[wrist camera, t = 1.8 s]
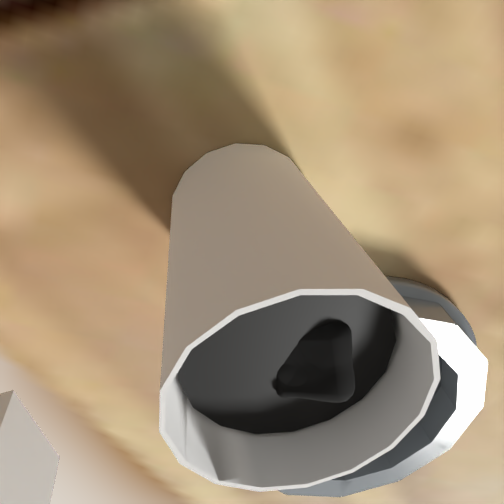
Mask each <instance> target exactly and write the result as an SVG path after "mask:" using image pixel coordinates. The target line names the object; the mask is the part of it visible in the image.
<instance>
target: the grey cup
mask: <svg viewBox="0 0 504 504" xmlns="http://www.w3.org/2000/svg"><path fill="white" fill-rule="evenodd" d="M440 379H441V378H440V367H439V355H438V344H437V340H436V338H435V337H434V336H433V335H432V334H431V332H430V331H429V330H428V329H427V327H426V326H425V325H424V324H423V322H422V321H421V320H420V319H419V317H418V316H417V315H416V314H415V312H414V311H413V310H412V309H411V308H410V306H409V305H408V304H407V303H406V301H405V300H404V299H403V298H402V296H401V295H400V294H399V293H398V291H397V290H396V289H395V288H394V287H393V285H392V284H391V283H390V282H389V280H388V279H387V278H386V277H385V275H384V274H383V273H382V272H381V271H380V269H379V268H378V267H377V266H376V264H375V263H374V262H373V261H372V259H371V258H370V257H369V256H368V254H367V253H366V252H365V251H364V250H363V248H362V247H361V246H360V245H359V243H358V242H357V241H356V240H355V238H354V237H353V236H352V235H351V233H350V232H349V231H348V230H347V229H346V227H345V226H344V225H343V224H342V222H341V221H340V220H339V219H338V217H337V216H336V215H335V214H334V213H333V211H332V210H331V209H330V208H329V206H328V205H327V204H326V203H325V201H324V200H323V199H322V198H321V196H320V195H319V194H318V193H317V192H316V190H315V189H314V188H313V187H312V185H311V184H310V183H309V182H308V180H307V179H306V178H305V177H304V175H303V174H302V173H301V172H300V170H299V169H298V168H297V167H296V165H295V164H294V163H293V162H292V160H291V159H290V158H289V157H287V156H285V155H283V154H281V153H279V152H277V151H275V150H273V149H271V148H269V147H267V146H265V145H255V144H238V143H235V144H232V145H229V146H226V147H223V148H220V149H217V150H214V151H211V152H208V153H206V154H205V155H204V156H202V157H201V158H200V159H199V160H198V161H197V162H195V163H194V164H193V165H192V166H191V167H190V168H188V169H187V170H186V171H185V172H184V174H183V176H182V178H181V180H180V182H179V184H178V186H177V188H176V190H175V192H174V194H173V196H172V211H171V227H170V242H169V258H168V273H167V289H166V304H165V320H164V336H163V351H162V367H161V382H160V416H159V432H160V434H161V435H162V437H163V438H164V440H165V442H166V443H167V445H168V446H169V448H170V449H171V451H172V452H173V454H174V456H175V457H176V459H177V460H178V462H179V463H180V464H181V465H183V466H185V467H186V468H188V469H190V470H192V471H193V472H195V473H197V474H199V475H200V476H202V477H204V478H206V479H207V480H209V481H211V482H213V483H214V484H218V485H224V486H230V487H235V488H241V489H247V490H253V491H258V492H262V491H273V490H284V489H296V488H307V487H310V486H313V485H316V484H319V483H322V482H325V481H328V480H332V479H335V478H338V477H341V476H344V475H347V474H350V473H353V472H355V471H356V470H358V469H360V468H361V467H363V466H365V465H366V464H368V463H370V462H371V461H373V460H375V459H376V458H378V457H380V456H381V455H383V454H385V453H386V452H388V451H390V450H391V449H393V448H394V447H395V446H396V445H397V444H398V443H399V442H400V441H401V440H402V439H403V438H404V437H405V436H406V435H407V433H408V432H409V431H410V430H411V429H412V428H413V427H414V426H415V425H416V424H417V423H418V422H419V421H420V420H421V419H422V418H423V417H424V415H425V413H426V411H427V409H428V406H429V404H430V402H431V399H432V397H433V395H434V392H435V390H436V388H437V386H438V383H439V381H440Z"/></svg>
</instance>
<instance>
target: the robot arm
mask: <svg viewBox="0 0 504 504" xmlns="http://www.w3.org/2000/svg"><path fill="white" fill-rule="evenodd" d="M59 459H60V456H59V455H58V454H57V452H56V451H55V449H54V448H53V446H52V445H51V444H50V442H49V440H48V439H47V438H46V436H45V435H44V433H43V432H42V430H41V429H40V427H39V426H38V425H37V423H36V422H35V420H34V419H33V417H32V416H31V414H30V413H29V411H28V410H27V409H26V407H25V406H24V404H23V403H22V401H21V400H20V399H19V397H18V395H17V394H16V393H15V391H14V390H12V391H9V392H5V393H1V394H0V504H50V501H51V496H52V491H53V487H54V482H55V477H56V473H57V468H58V463H59Z"/></svg>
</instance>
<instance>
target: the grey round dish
mask: <svg viewBox="0 0 504 504" xmlns="http://www.w3.org/2000/svg"><path fill="white" fill-rule="evenodd" d="M385 277H386V278H387V279H388V280H389V282H390V283H391V284H392V285H393V287H394V288H395V289H396V290H397V291H398V293H399V294H400V295H401V296H402V298H403V299H404V300H405V301H406V303H407V304H408V305H409V306H410V308H411V309H412V310H413V311H414V312H415V314H416V315H417V316H418V317H419V319H420V320H421V321H422V322H423V324H424V325H425V326H426V327H427V329H428V330H429V331H430V332H431V334H432V335H433V336H434V337H435V338H436V340H437V344H438V355H439V367H440V378H441V379H440V381H439V383H438V386H437V388H436V390H435V392H434V395H433V397H432V399H431V402H430V404H429V406H428V409H427V411H426V413H425V415H424V417H423V418H422V419H421V420H420V421H419V422H418V423H417V424H416V425H415V426H414V427H413V428H412V429H411V430H410V431H409V432H408V433H407V435H406V436H405V437H404V438H403V439H402V440H401V441H400V442H399V443H398V444H397V445H396V446H395V447H394V448H393V449H391V450H390V451H388V452H386V453H385V454H383V455H381V456H380V457H378V458H376V459H375V460H373V461H371V462H370V463H368V464H366V465H365V466H363V467H361V468H360V469H358V470H356V471H355V472H353V473H350V474H347V475H344V476H341V477H338V478H335V479H332V480H328V481H325V482H322V483H319V484H316V485H313V486H310V487H307V488H296V489H284V490H278V491H280V492H282V493H284V494H287V495H304V496H328V497H341V496H342V497H343V496H347V495H351V494H354V493H358V492H361V491H365V490H369V489H372V488H376V487H379V486H383V485H387V484H390V483H394V482H397V481H398V480H402V479H403V478H405V477H406V476H408V475H410V474H411V473H413V472H414V471H416V470H418V469H419V468H421V467H422V466H424V465H426V464H427V463H429V462H431V461H432V460H434V459H435V458H437V457H439V456H440V455H442V454H443V453H445V452H447V451H448V450H449V449H451V447H452V446H453V445H454V444H455V442H456V441H457V440H458V438H459V437H460V436H461V435H462V433H463V432H464V431H465V429H466V428H467V427H468V426H469V424H470V423H471V422H472V421H473V419H474V418H475V417H476V415H477V414H478V413H479V412H480V410H481V409H482V408H483V407H482V406H483V405H484V395H485V386H486V377H487V367H488V360H487V359H486V358H485V356H484V355H483V354H482V353H481V351H480V350H479V349H478V348H477V344H476V339H475V335H474V333H473V330H472V328H471V326H470V324H469V323H468V321H467V320H466V318H465V317H464V315H463V314H462V313H461V312H460V311H459V310H458V308H457V307H456V306H455V305H454V304H453V303H452V302H451V301H450V300H449V299H448V298H447V297H446V296H444V295H443V294H441V293H440V292H438V291H437V290H435V289H433V288H431V287H429V286H427V285H425V284H422V283H419V282H416V281H412V280H409V279H405V278H397V277H390V276H385Z"/></svg>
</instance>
